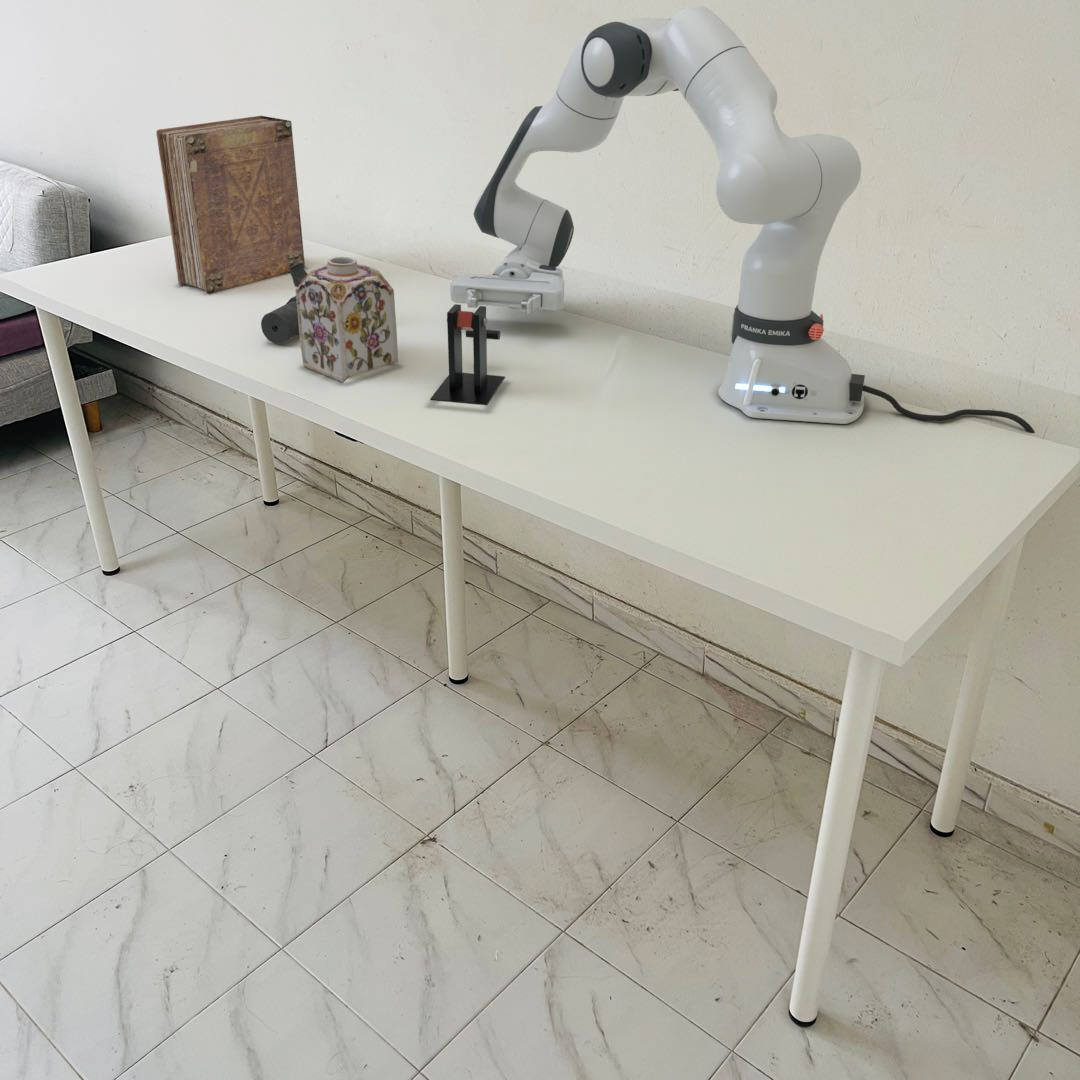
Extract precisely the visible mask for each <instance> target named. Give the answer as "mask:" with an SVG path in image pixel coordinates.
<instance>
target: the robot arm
mask: <svg viewBox="0 0 1080 1080" xmlns="http://www.w3.org/2000/svg"><path fill="white" fill-rule="evenodd" d="M669 92H680V94H681V96H682V97H683V99H684V100H685V102H686V103H687V104H688V106H689V108H690V109H691V110H692V112H693V113H694V115H695V116H696V118H697V119H698V120H699V122H700V123H701V125H702V126H703V128H704V130H705V131H706V133H707V134H708V136H709V137H710V139H711V141H712V143H713V145H714V148H715V150H716V151H715V152H716V154H717V157H718V161H719V169H718V172H717V174H716V178H715V195H716V199H717V203H718V205H719V208H720V209H721V211H722V212H723V213H724V215H725V216H726V217H727V218H728V219H730V220H731V221H734V222H736V223H739V224H746V225H747V224H748V225H761V226H762V227H761V229H760V231H759V233H758V235H757V236H756V238H755V240H753V243H752V244H751V245H750V246H749V247H748V248H747V250H746V251H745V253H744V255H743V259H742V261H741V270H740V281H739V291H738V300H737V305H736V307H734V311H733V314H732V322H731V332H730V336H731V349H730V354H729V358H728V362H727V366H726V369H725V373H724V376H723V379H722V382H721V384H720V387H719V388H718V390H717V391H718V392H717V393H718V396H719V398H720V399H721V400H722V401H724V402H725V403H726V404H728V405H730V406H732V407H734V408H736V409H739V410H740V411H741V412H742V413H743V414H744V415H745V416H747V417H749V418H751V419H753V418H754V419H765V420H778V421H793V422H794V421H795V422H809V423H821V424H823V423H824V424H839V425H847V424H850V423H853V422H854V421H856V420H858V419H859V418H860V417H861V416H862V414H863V412H864V409H865V408H864V407H865V397H864V394H863V392H865V393H868V394H871V395H874V396H877V397H879V398H881V399H884V400H886V401H887V402H889V403H890V404H891V405H892V407H893V408H894V409H895V410H896V411H897V412H898V413H900V414H901V415H904V416H906V417H909V418H912V419H914V420H918V421H919V420H920V421H929V422H946V421H951V420H954V419H956V418H959V417H963V416H980V417H981V416H983V417H998V418H999V417H1000V418H1004V419H1009V420H1011V421H1013V422H1015V423H1017V424H1018V425H1019V426H1021V427H1022V428H1023V429H1024V430H1025V431H1026V432H1027V433H1029V434H1035V430H1034V428H1033V427H1032V426H1031V425H1030V423H1028V422H1027V421H1026V420H1025V419H1024V418H1022V417H1020V416H1018V415H1017V414H1014V413H1013V412H1007V411H1003V410H996V409H995V410H994V409H975V408H973V409H972V408H968V409H967V408H966V409H965V408H964V409H959V410H955V411H954V412H950V413H948V414H923V413H917V412H914V411H911V410H908V409H906V408H904V407H903V406H901V404H900V403H899V402H898V401H897V399H895V398H894V396H891V394H889V393H887V392H885V391H882V390H880V389H877V388H874V387H872V386H868V385H866V384H865V378H866V375H865V374H856V373H852V370H851V366H850V363H849V361H848V360H847V359H846V358H845V357H844V356H843V355H842V354H840V353H839V352H838V351H837V350H836V349H835V348H833V346H832V345H830V344H829V343H828V342H827V341H826V340H825V339H824V338H823V334H824V332H825V331H824V330H825V329H824V315H823V313H820V315H818V314H817V313H816V312H814V311H813V300H814V295H815V294H814V293H815V288H816V282H817V276H818V275H817V274H818V270H819V265H820V262H821V257H822V254H823V251H824V249H825V246H826V243H827V241H828V238H829V235H830V233H831V231H832V228H833V226H834V224H835V222H836V220H837V217H838V215H839V213H840V212H841V209H842V207H843V206H844V204H845V203H846V202H847V200H848V199H849V198H850V197H851V196H852V195H853V193H854V192H855V191H856V189H857V188H858V185H859V183H860V179H861V175H862V164H861V163H862V162H861V159H860V155H859V152H858V150H857V149H856V147H855V146H854V145H853V144H852V143H851V142H850V141H848V140H847V139H845V138H843V137H840V136H835V135H831V134H826V133H824V134H823V133H813V134H807V135H806V134H805V135H800V136H794V137H790V136H788V135H787V134H785V133H784V132H783V130H782V129H781V128H780V126H779V124H778V121H777V119H776V115H775V110H776V107H777V104H778V91H777V89H776V87H775V85H774V84H773V83H772V81H771V80H770V79H769V77H768V76H767V74H766V72H765V71H764V70H763V68H762V67H761V66H760V65H759V63H758V61H757V60H756V59H755V57H754V56H753V55H752V53H751V52H750V51H749V49H748V48H747V47H746V45H745V44H744V43H743V41H742V40H741V39H740V38H739V36H738V35H737V34H736V33H735V32H734V31H733V30H732V29H731V27H729V26H728V24H727V23H725V21H724V20H722V19H721V17H719V16H718V15H717V14H715V12H714V11H712V10H711V9H709V8H708V7H705V6H702V5H692V6H689V7H686V8H683V9H682V10H680V11H678V12H677V13H676V14H674V15H673V16H672V17H671V18H650V17H640V18H633V19H627V20H624V21H610V22H607V23H605V24H602V25H601V26H600V25H599V26H597V27H596V28H595V29H593V30H591V31H589V32H587V33H586V34H584V35H583V36H582V37H581V38H580V39H579V40H578V42H577V43H576V45H575V47H574V49H573V50H572V52H571V54H570V56H569V58H568V60H567V62H566V65H565V67H564V69H563V72H562V73H561V76H560V78H559V81H558V84H557V87H556V90H555V92H554V94H553V96H552V98H551V99H549V101H548V102H547V103H546V104H544V105H537V106H534V107H533V108H532V109H531V110H530V111H529V112H528V113H527V115H526V116H525V117H524V118H523V120H522V122H521V124H520V125H519V127H518V129H517V131H516V133H515V134H514V136H513V138H512V140H511V141H510V143H509V145H508V147H507V148H506V149H505V150H506V151H505V153H504V154H503V156H502V158H501V160H500V162H499V164H498V165H497V167H496V168H495V171H494V173H493V174H492V177H491V178H490V180H489V181H488V183H487V184H486V185H485V186H484V188H483V189H482V190H481V192H479V193H480V194H479V195H478V197H477V199H476V201H475V205H474V208H473V209H474V210H473V218H474V220H475V222H476V224H477V227H478V228H479V231H481V233H482V234H486V235H488V236H492V237H494V238H497V239H501V240H503V241H505V242H508V243H509V244H511V245H514V246H516V247H514V248H513V249H512V250H511V251H510V252H509V253H508V254H507V255H506V256H505V258H504V259H503V260H502V261H501V262H500V263H499V264H498V265H497V266H496V267H495V269H494V270H493V272H492V273H491V274H483V273H464V274H461V275H460V276H458V277H456V278H454V279H453V280H452V281H451V282H450V286H449V287H450V289H449V291H450V292H449V293H450V301H452V302H453V303H455V304H463V305H465V304H466V305H467V308H471V309H478V308H479V306H488V307H489V306H490V307H502V308H503V307H504V308H509V309H511V310H520V311H521V313H531V312H532V311H535V310H539V311H540V310H542V311H553V312H554V311H555V312H556V311H562V310H563V308H564V304H565V280H564V273H563V269H562V268H559V266H560V265H561V263H562V261H563V260H564V258H565V257H566V254H567V253H568V250H569V248H570V246H571V242H572V239H573V237H574V232H575V225H574V222H573V218H572V215H571V213H570V211H569V209H567V208H565V207H563V206H561V205H559V204H557V203H555V202H552V201H550V200H548V199H545V198H543V197H540V196H538V195H536V194H534V193H533V192H530V191H527V190H526V189H523V188H522V187H520V186H519V185H518V184H517V182H516V180H517V179H518V177H519V175H520V174H521V172H522V170H523V168H524V167H525V164H526V163H527V161H528V159H529V158H530V156H531V155H532V154H535V153H538V152H560V153H562V152H563V153H582V152H587V151H590V150H592V149H594V148H596V147H598V146H600V145H601V144H602V143H604V142H605V141H606V139H607V138H608V136H609V134H610V133H611V131H612V129H613V127H614V125H615V123H616V121H617V118H618V116H619V113H620V111H621V107H622V105H623V102H624V99H625V97H642V96H644V97H651V96H657V95H661V94H666V93H669Z"/></svg>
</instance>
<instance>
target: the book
mask: <svg viewBox="0 0 1080 1080" xmlns="http://www.w3.org/2000/svg"><path fill="white" fill-rule="evenodd" d="M292 125H293V123H292V121H291V120H288V119H283V118H276V117H272V116H271V117H270V116H265V115H256V116H248V117H242V118H234V119H227V120H226V119H225V120H217V121H211V122H204V123H197V124H189V125H183V126H182V125H181V126H175V127H168V128H159V129H157V130H156V132H155V133H156V141H157V147H158V153H159V154H158V155H159V160H160V168H161V173H162V180H163V187H164V193H165V200H166V207H167V213H168V221H169V228H170V234H171V242H172V248H173V254H174V262H175V268H176V276H177V282H178V285H179V286H180V287H182V286H186V285H189V286H191V287H194V288H197V289H201V290H204V292H205V294H207V295H208V294H214V293H217V292H222V291H224V290H229V289H232V288H236V287H241V286H243V285H247V284H251V283H255V282H258V281H262V280H265V279H269V278H272V277H277V276H280V275H284V274H288V273H290V270H289V267H290V266H292V265H294V264H297V263H299V262H302V266H303V268H304V269H305V268H306V265H305V264H306V263H305V252H304V241H303V232H302V222H301V209H300V201H299V190H298V189H299V188H298V178H297V167H296V157H295V147H294V137H293V126H292Z"/></svg>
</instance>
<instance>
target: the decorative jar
mask: <svg viewBox="0 0 1080 1080" xmlns="http://www.w3.org/2000/svg"><path fill="white" fill-rule="evenodd" d="M326 264H327V265H324V266H320V267H317V268H314V269H311V270H310V271H309V273H308V272H307V276H306V277H305V278H304V279H303V280H302V282H301V283H300V284H299V286H298V287H296V289H295V296H296V300H297V311H298V323H299V334H298V335H299V343H300V349H301V350H300V352H301V359H302V365H303V367H304V368H307V369H309V370H311V371H313V372H316V373H319V374H320V375H323V376H325V377H329V378H331V379H333V380H336V381H338V382H341V383H345V382H346V381H347V380H348V379H349V378H350V377H353V376H356V375H359V374H362V373H365V372H369V371H372V370H374V369H379V368H382V367H383V366H386V365H390V364H394V363H398V362H399V354H398V353H399V352H398V351H399V350H398V333H397V332H398V331H397V316H396V304H395V303H396V302H395V301H396V300H395V290H394V288H393V286H392V285H390V283H389V281H387V280H386V278H385V276H383V274H382V273H381V271H380V270H378V269H376V268H374V267H371V266H367V265H365V264H358V261H357V259H356V258H354V257H349V256H335V257H332V258H329V259H327V263H326Z"/></svg>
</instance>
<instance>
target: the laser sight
mask: <svg viewBox="0 0 1080 1080" xmlns="http://www.w3.org/2000/svg"><path fill="white" fill-rule="evenodd" d="M289 270H290V272H289V273H290V275H291V278H292V281H293V284H294V288H298V286H299V284H300V283H301V282H302V280H303V279H304V278H305V277H306V276H307V274H308V272H307V271H306V269H305V268H303V266H302V262H299V263H297V264H294V265H292V266H290V267H289ZM260 328H261V331H262V333H263V335H264V337H265V338H266V339H267V340H268V341H269V342H270V343H273V344H275V345H282V344H284V343H286V342H287V341H289V340H291V339H292V338H293V339H294V338H295V337H296V336H298V335H300V334H299V323H298V311H297V300H296V295H294V296H292V297H290V299H289V300H288V301H287V302H286V303H285V304H284V305H282V306H280V307H278V308H275V309H273V310H272V311H271V312H268V313H265V314H264V315H263V317H262V318H261V321H260Z"/></svg>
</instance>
